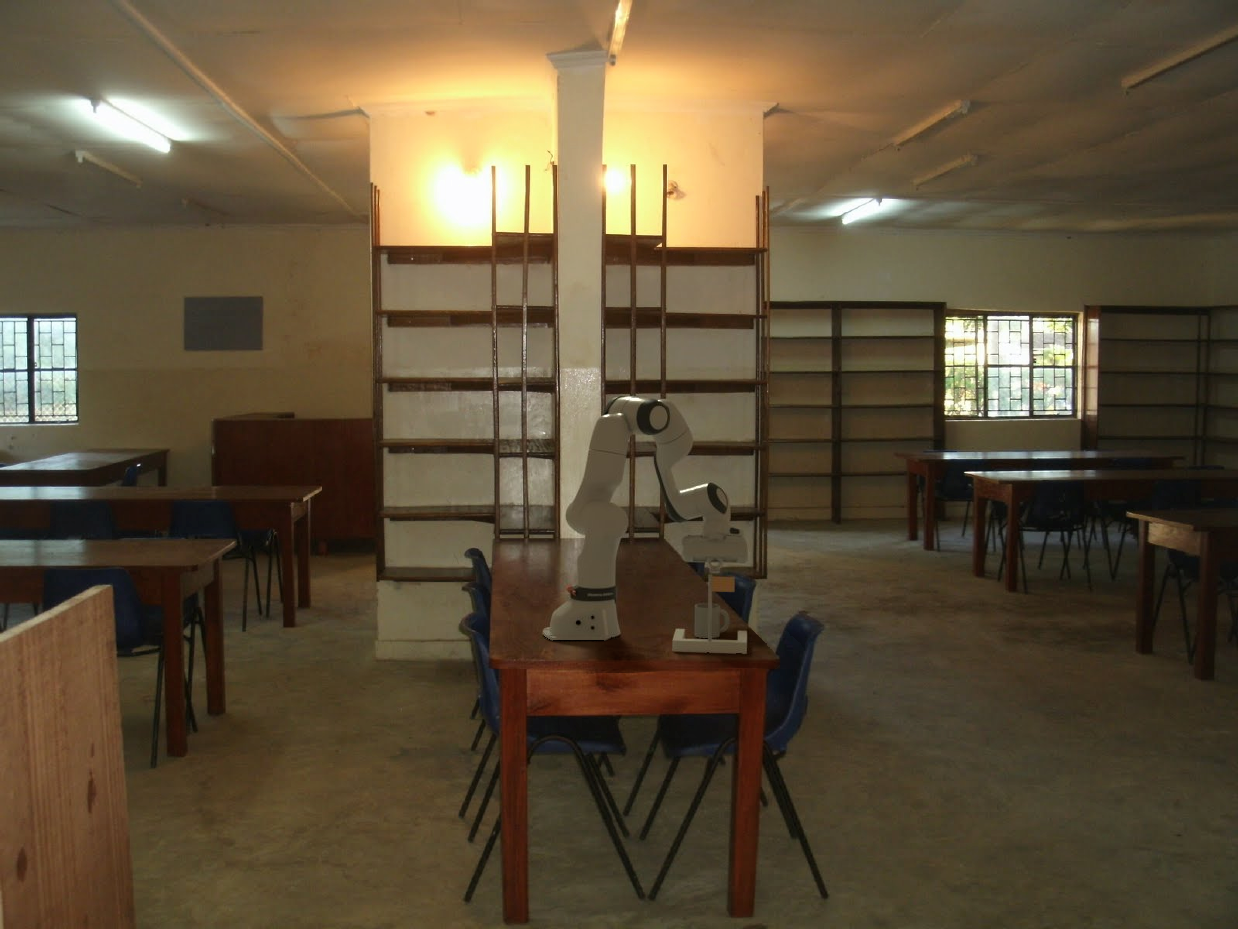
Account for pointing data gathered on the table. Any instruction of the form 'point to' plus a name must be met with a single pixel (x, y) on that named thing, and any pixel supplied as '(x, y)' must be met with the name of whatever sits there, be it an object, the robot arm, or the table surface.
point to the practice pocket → (708, 644)
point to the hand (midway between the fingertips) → (714, 572)
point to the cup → (702, 620)
